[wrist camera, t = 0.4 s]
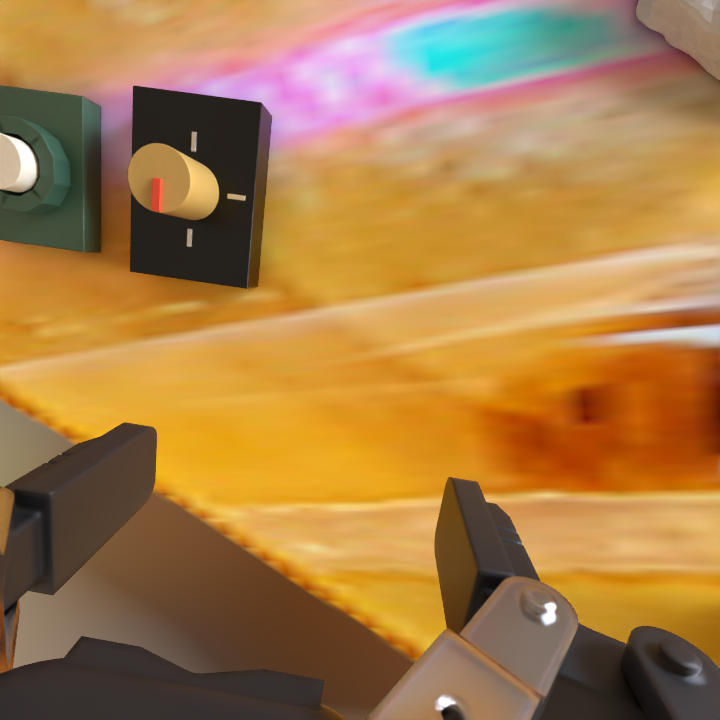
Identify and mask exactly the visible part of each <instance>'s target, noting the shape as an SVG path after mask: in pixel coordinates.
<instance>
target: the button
mask: <svg viewBox="0 0 720 720" xmlns="http://www.w3.org/2000/svg"><path fill="white" fill-rule="evenodd" d="M39 170H40V169H39V162H38V159H37V157H36V154H35V153H34V151H33V150H32V149H31V148H30V146H29V145H27V144H26V143H25V142H23V141H21V140H19V139H16V138H13V137H11V136H8V135H5V134H2V133H0V189H2V190H7V191H12V192H25V191H28V190H30V189H31V188H32V187H33V186H34V185H35V184H36V182H37V180H38V177H39Z"/></svg>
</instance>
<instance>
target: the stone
mask: <svg viewBox="0 0 720 720" xmlns="http://www.w3.org/2000/svg"><path fill="white" fill-rule="evenodd" d="M636 16H637V18H638V19H639V20H640V21H641V22H642V23H643V24H644V25H646V26H647V27H648V28H650V29H652V30H654V31H657V32H659V33H661V34H662V35H664V37H665V40H666V41H667V42H668V43H669V44H670V45H671V46H672V47H675V48H677V49H680V50H681V51H683V52H685V53H687V54H689V55H690V56H691V57H692V58H694V59H695V60H696V61H697V62H698V63H699V64H700V65H701V66H702V67H703V68H704V69H705V70H706V71H707V72H708V73H710V74H711V75H712V76H713V77H715V78H716V79H719V80H720V0H638V5H637V8H636Z"/></svg>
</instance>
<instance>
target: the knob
mask: <svg viewBox="0 0 720 720" xmlns="http://www.w3.org/2000/svg"><path fill="white" fill-rule="evenodd" d="M128 183H129V186H130V189H131V192H132V193H133V195H134V197H135V198H136V200H137V201H138V202H139V203H140V204H141V205H143V206H144V207H145V208H147V209H149V210H151V211H154V212H158V213H163V214H167V215H171V216H175V217H180V218H184V219H188V220H199V219H203V218H205V217H207V216H208V215H209V214H211V213H212V212H213V210H214V209H215V207H216V205H217V203H218V199H219V187H218V183H217V180H216V178H215V176H214V175H213V173H212V172H211V171H210V170H209V169H208V168H207V167H206V166H204V165H203V164H201V163H199V162H197V161H195V160H194V159H192V158H190V157H188V156H186V155H185V154H183V153H181V152H179V151H177V150H175V149H174V148H172V147H170V146H168V145H165V144H160V143H153V144H148V145H146V146H143V147H142V148H140V149H139V150H138V151H137V152H136V153H135V154H134V155H133V157H132V159H131V161H130V163H129V167H128Z"/></svg>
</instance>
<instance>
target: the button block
mask: <svg viewBox="0 0 720 720" xmlns="http://www.w3.org/2000/svg"><path fill="white" fill-rule="evenodd" d="M0 133H2V134H5V135H8V136H11V137H13V138H16V139H19V140H21V141H23V142H25V143H26V144H27V145H29V146H30V148H31V149H32V150H33V151H34V153H35V154H36V157H37V159H38V162H39V169H40V170H39V177H38V180H37V182H36V184H35V185H34V186H33V187H32V188H31V189H30V190H28V191H25V192H12V191H7V190H2V189H0V240H5V241H12V242H18V243H25V244H32V245H39V246H46V247H53V248H60V249H67V250H74V251H80V252H95V253H100V252H101V107H100V106H99V105H97V104H95V103H94V102H92V101H90V100H88V99H86V98H85V97H83V96H77V95H69V94H62V93H54V92H47V91H39V90H32V89H24V88H17V87H9V86H2V85H0Z"/></svg>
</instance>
